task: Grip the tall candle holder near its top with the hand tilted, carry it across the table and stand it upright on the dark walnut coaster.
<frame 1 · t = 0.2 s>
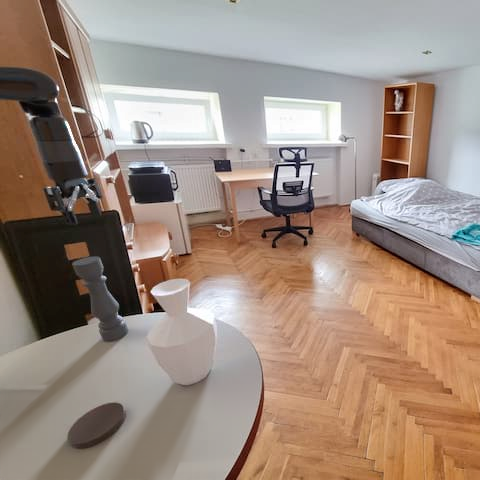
hand: (85, 219, 79), 35 cm above the table, tool pointing down, fingers open, 8 cm apart
coaster: (99, 426, 60), on the table
vase: (195, 371, 74), on the table
candle holder: (116, 335, 87), on the table
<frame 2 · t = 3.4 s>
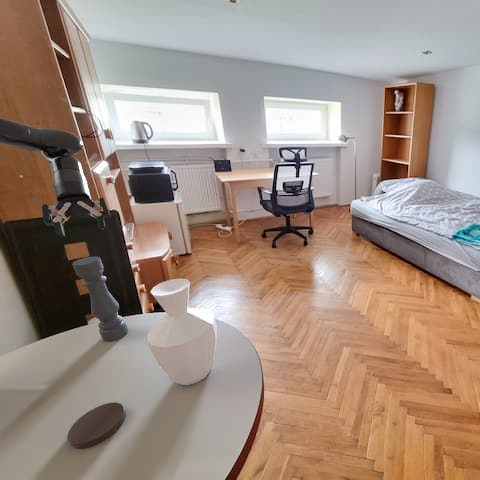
hand: (82, 232, 84), 30 cm above the table, tool tilted 45°, fingers open, 8 cm apart
nothing on the table moved.
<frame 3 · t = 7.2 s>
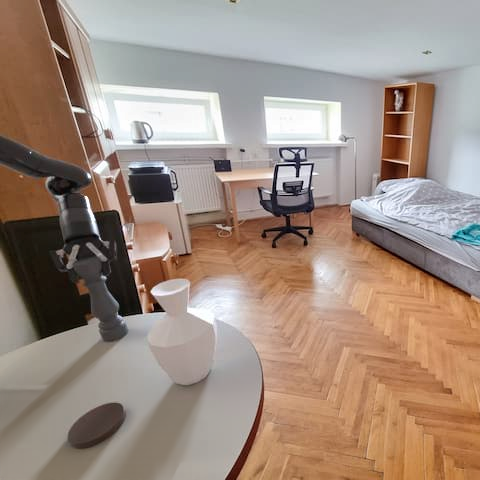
hand: (91, 278, 78), 20 cm above the table, tool tilted 45°, fingers closed on candle holder, 5 cm apart
candle holder: (116, 335, 87), on the table, touching gripper
everything else where it was.
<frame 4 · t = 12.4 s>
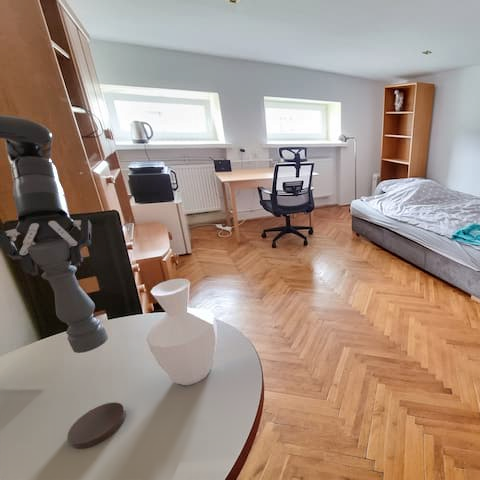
hand: (55, 268, 58), 32 cm above the table, tool tilted 45°, fingers closed on candle holder, 5 cm apart
candle holder: (91, 343, 67), point 12 cm above the table, touching gripper
everything else where it was.
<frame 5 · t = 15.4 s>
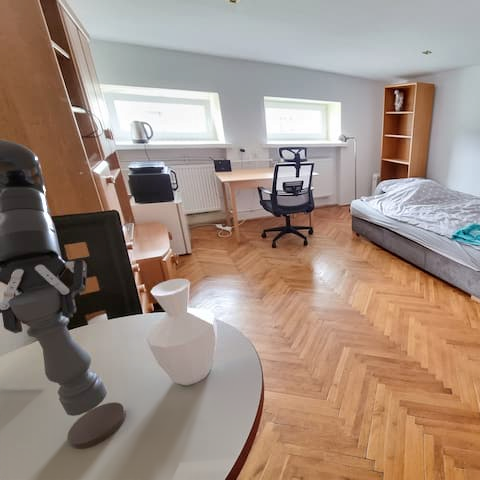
hand: (43, 323, 49), 27 cm above the table, tool tilted 45°, fingers closed on candle holder, 5 cm apart
candle holder: (87, 402, 58), point 7 cm above the table, touching gripper
everything else where it was.
when the fingers open (22 cm above the table, at t = 17.5 s): candle holder stays where it is, resting on coaster.
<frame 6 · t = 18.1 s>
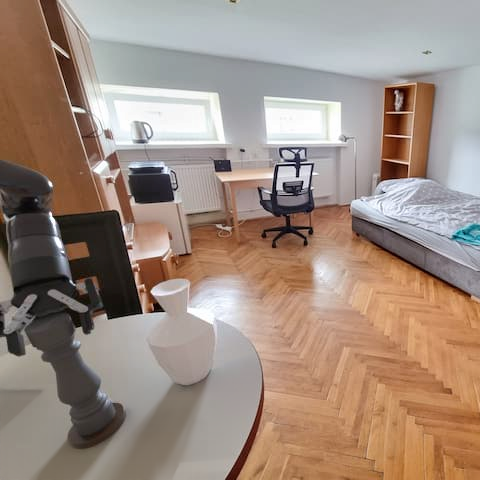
hand: (55, 343, 51), 23 cm above the table, tool tilted 45°, fingers open, 8 cm apart
candle holder: (97, 421, 60), point 1 cm above the table, touching coaster
everything else where it was.
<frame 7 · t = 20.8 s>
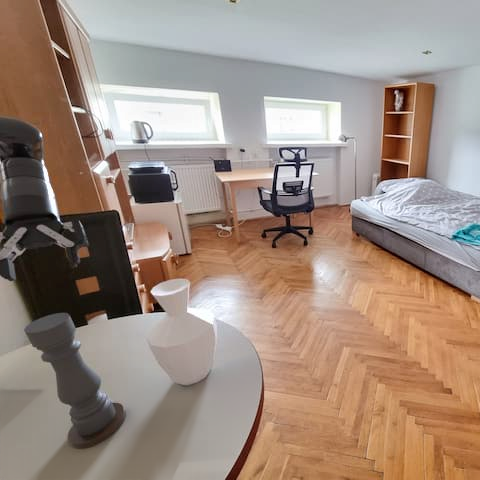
hand: (43, 272, 55), 32 cm above the table, tool tilted 45°, fingers open, 8 cm apart
nothing on the table moved.
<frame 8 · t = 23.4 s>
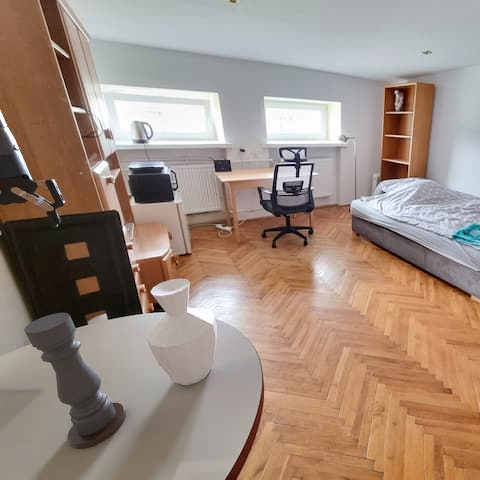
hand: (27, 231, 61), 38 cm above the table, tool pointing down, fingers open, 8 cm apart
nothing on the table moved.
at the end: candle holder 0.1 cm off-centre on the coaster, point 1.3 cm above the coaster's base; candle holder tilted 0°; the gripper is holding nothing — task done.
